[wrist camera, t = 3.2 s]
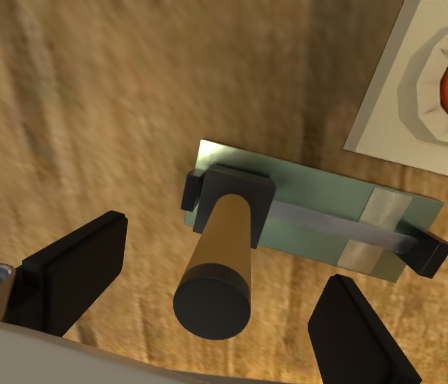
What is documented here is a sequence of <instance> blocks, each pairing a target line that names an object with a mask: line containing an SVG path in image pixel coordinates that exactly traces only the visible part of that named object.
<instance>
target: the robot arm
mask: <svg viewBox="0 0 448 384" xmlns="http://www.w3.org/2000/svg"><path fill="white" fill-rule="evenodd" d="M127 225H128V219H127V218H125V214H123V213H120V212H116V211H112V210H111V211H109V212H107V213H105V214H103V215H102V216H100V217H98V218H96V219H94V220H93V221H91V222H89V223H87V224H86V225H84V226H82V227H80V228H79V229H77V230H75V231H73V232H72V233H70V234H68V235H66V236H64V237H63V238H61V239H59V240H57V241H56V242H54V243H52V244H50V245H49V246H47V247H45V248H43V249H42V250H40V251H38V252H36V253H34V254H33V255H31V256H29V257H27V258H26V259H24V260H22V265H21V266H19V267H17V268H16V269H15V268H14V267H13V266H11V265H8V264H3V263H0V384H212V383H208V382H205V381H202V380H198V379H196V378H192V377H189V376H186V375H183V374H180V373H176V372H173V371H170V370H167V369H163V368H160V367H157V366H154V365H151V364H147V363H144V362H141V361H137V360H134V359H131V358H128V357H124V356H121V355H118V354H114V353H111V352H108V351H105V350H101V349H98V348H95V347H92V346H88V345H85V344H82V343H78V342H75V341H72V340H68V339H64V338H61V337H62V336H63V335H64V334H65V333H66V332H67V331H68V330H69V329H70V328H71V326H72V325H73V324H74V323H75V322H76V321H77V320H78V319H79V318H80V317H81V316H82V314H83V313H84V312H85V311H86V310H87V309H88V308H89V307H90V306H91V305H92V304H93V302H94V301H95V300H96V299H97V298H98V297H99V296H100V295H101V294H102V293H103V292H104V290H105V289H106V288H107V287H108V286H109V285H110V284H111V283H112V282H113V281H114V279H115V278H116V277H117V276H118V275H119V274H120V272H121V270H122V266H123V258H124V249H125V241H126V233H127ZM308 333H309V336H310V339H311V343H312V346H313V350H314V353H315V357H316V360H317V363H318V367H319V370H320V374H321V377H322V381H323V384H420V383H421V381H422V379H421V377H420V376H419V374H418V373H417V372H416V370H415V369H414V367H413V366H412V364H411V363H410V362H409V360H408V359H407V357H406V356H405V354H404V353H403V351H402V350H401V349H400V347H399V346H398V344H397V343H396V341H395V340H394V338H393V337H392V336H391V334H390V333H389V331H388V330H387V328H386V327H385V325H384V324H383V323H382V321H381V320H380V318H379V317H378V315H377V314H376V313H375V311H374V310H373V308H372V307H371V305H370V304H369V302H368V301H367V300H366V298H365V297H364V295H363V294H362V292H361V291H360V289H359V288H358V287H357V285H356V284H355V282H354V281H353V279H352V278H350V277H346V276H343V275H339V274H335V275H334V276H331V277H330V278H329V280H328V282H327V284H326V286H325V288H324V290H323V292H322V294H321V296H320V299H319V301H318V303H317V305H316V307H315V309H314V311H313V313H312V315H311V318H310V320H309V322H308Z"/></svg>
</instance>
